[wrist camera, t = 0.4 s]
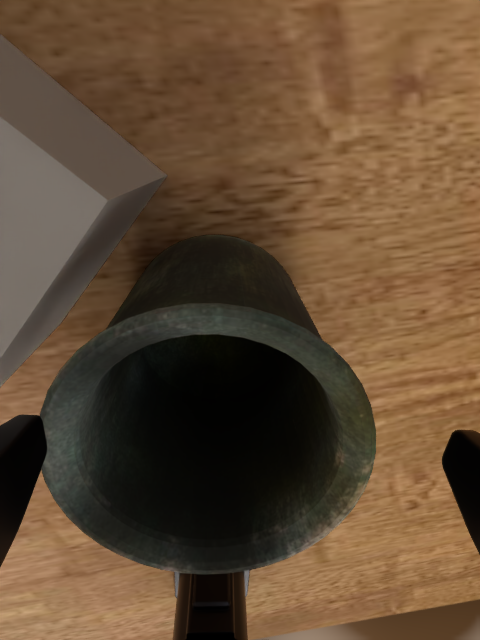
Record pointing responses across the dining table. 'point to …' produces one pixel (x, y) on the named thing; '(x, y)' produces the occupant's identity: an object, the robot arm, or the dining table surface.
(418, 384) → the dining table surface
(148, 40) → the dining table surface
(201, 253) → the mug
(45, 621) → the dining table surface
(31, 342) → the plain grey rectangular block
